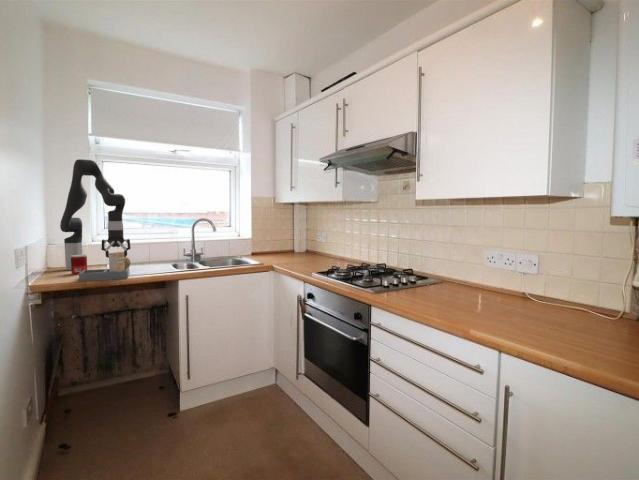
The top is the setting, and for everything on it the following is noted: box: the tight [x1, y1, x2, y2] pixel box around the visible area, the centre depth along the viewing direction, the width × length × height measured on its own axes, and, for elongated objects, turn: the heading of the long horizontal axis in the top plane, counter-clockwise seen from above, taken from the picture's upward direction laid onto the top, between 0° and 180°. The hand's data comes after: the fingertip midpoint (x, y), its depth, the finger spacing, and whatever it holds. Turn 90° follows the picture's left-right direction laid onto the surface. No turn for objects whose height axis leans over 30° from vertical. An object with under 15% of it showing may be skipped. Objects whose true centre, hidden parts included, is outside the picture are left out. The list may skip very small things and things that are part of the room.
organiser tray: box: [78, 267, 130, 282], centre depth 199 cm, size 13×23×4 cm, turn 115°
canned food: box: [70, 254, 88, 276], centre depth 212 cm, size 8×8×11 cm
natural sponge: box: [124, 256, 131, 269], centre depth 217 cm, size 9×9×10 cm
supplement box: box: [108, 251, 125, 272], centre depth 201 cm, size 8×5×13 cm, turn 3°
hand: (116, 257), depth 201 cm, fingers open, 8 cm apart
